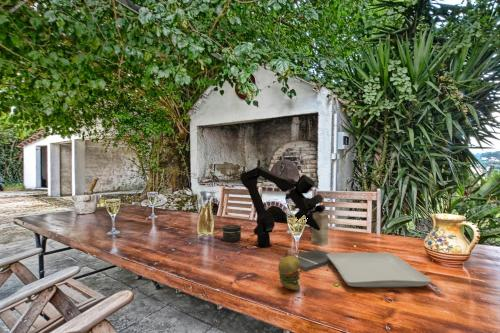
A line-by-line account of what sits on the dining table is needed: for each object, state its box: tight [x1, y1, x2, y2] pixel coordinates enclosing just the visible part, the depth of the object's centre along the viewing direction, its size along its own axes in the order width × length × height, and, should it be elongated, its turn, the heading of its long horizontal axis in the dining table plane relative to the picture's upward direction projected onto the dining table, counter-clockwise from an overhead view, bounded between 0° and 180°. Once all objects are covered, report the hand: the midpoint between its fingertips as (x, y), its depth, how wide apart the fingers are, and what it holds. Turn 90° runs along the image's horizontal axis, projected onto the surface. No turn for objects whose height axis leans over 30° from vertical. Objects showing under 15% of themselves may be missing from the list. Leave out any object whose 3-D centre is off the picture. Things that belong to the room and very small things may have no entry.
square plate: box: [326, 252, 433, 288], centre depth 100 cm, size 27×27×4 cm
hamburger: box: [278, 253, 301, 291], centre depth 90 cm, size 8×7×12 cm
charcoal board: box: [282, 248, 333, 272], centre depth 115 cm, size 13×20×2 cm, turn 124°
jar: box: [222, 224, 242, 244], centre depth 149 cm, size 10×10×8 cm
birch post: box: [310, 212, 329, 247], centre depth 116 cm, size 5×5×13 cm
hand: (322, 228), depth 116 cm, fingers closed on birch post, 5 cm apart
